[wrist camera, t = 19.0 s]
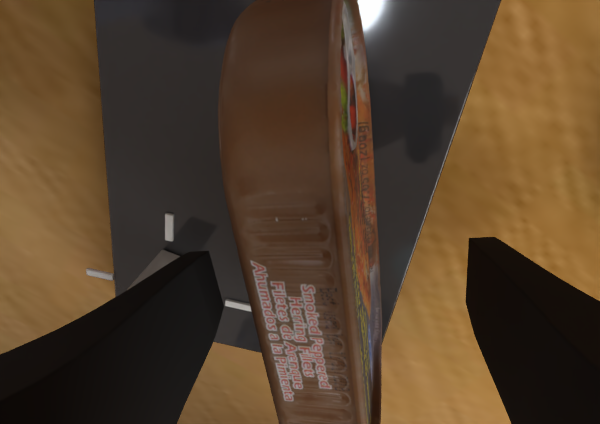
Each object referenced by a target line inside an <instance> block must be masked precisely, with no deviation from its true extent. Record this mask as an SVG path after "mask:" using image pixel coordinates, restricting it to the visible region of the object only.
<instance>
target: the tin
mask: <svg viewBox="0 0 600 424" xmlns="http://www.w3.org/2000/svg"><path fill="white" fill-rule="evenodd" d="M218 130H219V149H220V160H221V168H222V177H223V186H224V193H225V199H226V203H227V207H228V211H229V216H230V220H231V225H232V230H233V234H234V238H235V242H236V246H237V250H238V256H239V260H240V265H241V269H242V273H243V277H244V281H245V285H246V289H247V293H248V297H249V302H250V307H251V311H252V314H253V319H254V324H255V328H256V331H257V335H258V339H259V344H260V348H261V352H262V356H263V360H264V364H265V368H266V372H267V376H268V380H269V384H270V388H271V393H272V396H273V401H274V404H275V408H276V412H277V416H278V420H279V424H380V422H381V344H382V308H381V287H380V264H379V246H378V229H377V212H376V195H375V176H374V156H373V138H372V123H371V106H370V94H369V83H368V70H367V59H366V50H365V42H364V33H363V28H362V20H361V16H360V10H359V5H358V0H256V1H255V2H253V3H252V4H251V5H249V6H248V7H247V8H246V9H245V10H244V11H243V12H242V13H241V14H240V15H239V17H238V18H237V19H236V21H235V23H234V25H233V27H232V29H231V32H230V35H229V38H228V41H227V44H226V48H225V53H224V58H223V63H222V70H221V77H220V85H219V100H218Z"/></svg>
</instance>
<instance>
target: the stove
mask: <svg viewBox="0 0 600 424" xmlns="http://www.w3.org/2000/svg"><path fill="white" fill-rule="evenodd" d="M255 1H256V0H94V8H95V21H96V35H97V49H98V62H99V76H100V90H101V103H102V117H103V131H104V144H105V158H106V172H107V185H108V199H109V213H110V226H111V240H112V254H113V267H114V274H113V273H109V272H104V271H100V270H95V269H91V268H87V269H86V273H87V275H89V276H93V277H98V278H102V279H107V280H111V281H113V280H114V281H115V295H116V297H117V296H118V295H120V294H122V293H123V292H125V291H126V290H127V289H128V288H129V287H130V286H131V285H132V283H133V282H134V281H135V280H136V279H137V278H138V277H139V275H140V274H141V273H142V272H143V271H144V270H145V269H146V267H147V266H148V265H149V264H150V263H151V262H152V261H153V259H154V258H155V257H156V256H157V255H158V254H159V253H160V251H161V250H165V251H168V252H171V253H173V254H176V255H178V256H182V255H184V254H186V253H188V252H191V251H209V253H210V257H211V260H212V264H213V268H214V271H215V275H216V279H217V282H218V286H219V290H220V293H221V297H222V301H223V304H224V309H223V312H222V316H221V320H220V323H219V326H218V330H217V333H216V336H215V339H214V341H213V342H217V343H221V344H225V345H230V346H234V347H239V348H243V349H247V350H252V351H256V352H260V353H262V352H261V348H260V344H259V339H258V335H257V331H256V328H255V324H254V319H253V314H252V311H251V307H250V302H249V297H248V293H247V289H246V285H245V281H244V277H243V273H242V269H241V265H240V260H239V256H238V250H237V246H236V242H235V238H234V234H233V230H232V225H231V220H230V216H229V211H228V207H227V203H226V199H225V193H224V186H223V177H222V168H221V160H220V149H219V130H218V100H219V85H220V77H221V70H222V63H223V58H224V53H225V48H226V44H227V41H228V38H229V35H230V32H231V29H232V27H233V25H234V23H235V21H236V19H237V18H238V17H239V15H240V14H241V13H242V12H243V11H244V10H245V9H246V8H247V7H248V6H249V5H251V4H252V3H253V2H255ZM500 2H501V0H358V5H359V10H360V16H361V20H362V28H363V33H364V42H365V50H366V59H367V70H368V83H369V94H370V106H371V123H372V138H373V156H374V176H375V195H376V212H377V229H378V246H379V264H380V287H381V308H382V342H383V339H384V336H385V334H386V331H387V328H388V325H389V322H390V319H391V316H392V313H393V310H394V308H395V305H396V302H397V299H398V296H399V293H400V290H401V287H402V285H403V282H404V279H405V276H406V273H407V270H408V267H409V264H410V262H411V259H412V256H413V253H414V250H415V247H416V244H417V241H418V238H419V236H420V233H421V230H422V227H423V224H424V221H425V218H426V215H427V213H428V210H429V207H430V204H431V201H432V198H433V195H434V192H435V190H436V187H437V184H438V181H439V178H440V175H441V172H442V169H443V166H444V164H445V161H446V158H447V155H448V152H449V149H450V146H451V143H452V141H453V138H454V135H455V132H456V129H457V126H458V123H459V120H460V117H461V115H462V112H463V109H464V106H465V103H466V100H467V97H468V94H469V92H470V89H471V86H472V83H473V80H474V77H475V74H476V71H477V69H478V66H479V63H480V60H481V57H482V54H483V51H484V48H485V45H486V43H487V40H488V37H489V34H490V31H491V28H492V25H493V22H494V20H495V17H496V14H497V11H498V8H499V5H500ZM381 345H382V344H381Z"/></svg>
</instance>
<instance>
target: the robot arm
mask: <svg viewBox="0 0 600 424" xmlns="http://www.w3.org/2000/svg"><path fill="white" fill-rule="evenodd" d="M466 305H467V309H468V312H469V316H470V320H471V324H472V327H473V331H474V334H475V337H476V340H477V342H478V345H479V347H480V349H481V352H482V354H483V357H484V359H485V361H486V364H487V366H488V369H489V371H490V373H491V376H492V378H493V380H494V383H495V385H496V388H497V390H498V392H499V395H500V397H501V399H502V402H503V404H504V406H505V409H506V411H507V414H508V416H509V419H510V421H511V424H600V301H598V300H596V299H595V298H593V297H591V296H589V295H587V294H586V293H584V292H582V291H580V290H578V289H577V288H575V287H573V286H571V285H570V284H568V283H566V282H565V281H563V280H561V279H560V278H558V277H556V276H555V275H553V274H552V273H550V272H548V271H547V270H545V269H544V268H542V267H540V266H539V265H537V264H536V263H534V262H533V261H531V260H530V259H528V258H527V257H525V256H524V255H522V254H521V253H519V252H518V251H516V250H515V249H513V248H511V247H510V246H508V245H507V244H505V243H504V242H502V241H501V240H499V239H497V238H495V237H483V238H469V250H468V268H467V287H466ZM223 309H224V304H223V301H222V297H221V293H220V290H219V286H218V282H217V279H216V275H215V271H214V268H213V264H212V260H211V257H210V253H209V251H191V252H188V253H186V254H184V255H182V256H180V257H178V258H177V259H175V260H173V261H172V262H170V263H169V264H167V265H165V266H164V267H162V268H161V269H159V270H158V271H156V272H155V273H153V274H152V275H150V276H149V277H147V278H145V279H144V280H142V281H141V282H139V283H138V284H136V285H135V286H133V287H132V288H130V289H128V290H127V291H125V292H123V293H122V294H120V295H118V296H117V297H115V298H113V299H112V300H110V301H108V302H107V303H105V304H104V305H102V306H100V307H99V308H97V309H95V310H93V311H92V312H90V313H88V314H86V315H84V316H82V317H81V318H79V319H77V320H75V321H73V322H71V323H69V324H67V325H65V326H63V327H61V328H59V329H57V330H55V331H53V332H51V333H49V334H47V335H44V336H42V337H40V338H37V339H35V340H33V341H31V342H28V343H26V344H24V345H22V346H19V347H17V348H15V349H13V350H10V351H8V352H6V353H3V354H1V355H0V424H177V422H178V419H179V417H180V415H181V412H182V410H183V407H184V405H185V403H186V401H187V398H188V396H189V394H190V392H191V390H192V387H193V385H194V383H195V381H196V379H197V377H198V374H199V372H200V370H201V368H202V366H203V363H204V361H205V359H206V357H207V355H208V352H209V350H210V348H211V346H212V343H213V341H214V339H215V336H216V333H217V330H218V326H219V323H220V320H221V316H222V312H223Z"/></svg>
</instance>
